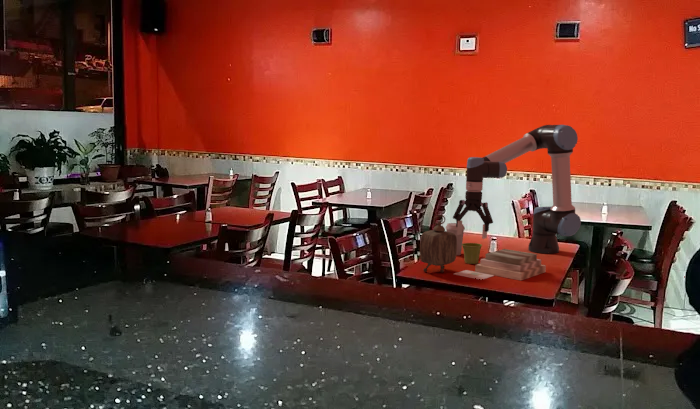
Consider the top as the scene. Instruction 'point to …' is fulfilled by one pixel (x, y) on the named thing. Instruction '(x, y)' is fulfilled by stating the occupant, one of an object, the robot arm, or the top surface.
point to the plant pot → (471, 252)
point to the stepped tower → (511, 264)
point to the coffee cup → (452, 228)
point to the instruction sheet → (473, 274)
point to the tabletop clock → (438, 246)
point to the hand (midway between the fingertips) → (471, 236)
